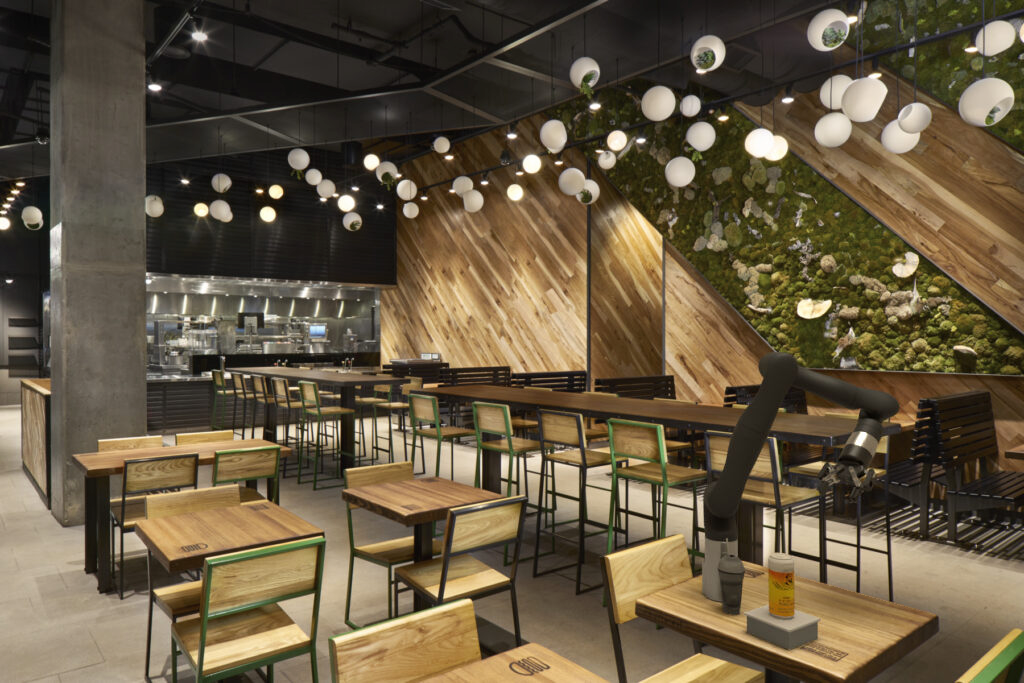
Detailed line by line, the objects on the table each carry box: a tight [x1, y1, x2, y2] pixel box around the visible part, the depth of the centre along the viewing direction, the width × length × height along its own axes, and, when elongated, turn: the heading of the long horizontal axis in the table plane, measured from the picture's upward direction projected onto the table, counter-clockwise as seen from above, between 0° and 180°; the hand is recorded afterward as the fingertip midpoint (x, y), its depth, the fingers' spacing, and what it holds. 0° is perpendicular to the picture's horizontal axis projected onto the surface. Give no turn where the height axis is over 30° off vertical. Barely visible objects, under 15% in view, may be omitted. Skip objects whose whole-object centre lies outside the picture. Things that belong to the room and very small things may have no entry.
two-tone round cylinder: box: [767, 552, 796, 619], centre depth 166 cm, size 6×6×15 cm
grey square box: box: [743, 603, 822, 650], centre depth 166 cm, size 13×13×5 cm
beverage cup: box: [718, 538, 746, 616], centre depth 182 cm, size 7×7×20 cm
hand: (836, 497), depth 177 cm, fingers open, 8 cm apart
